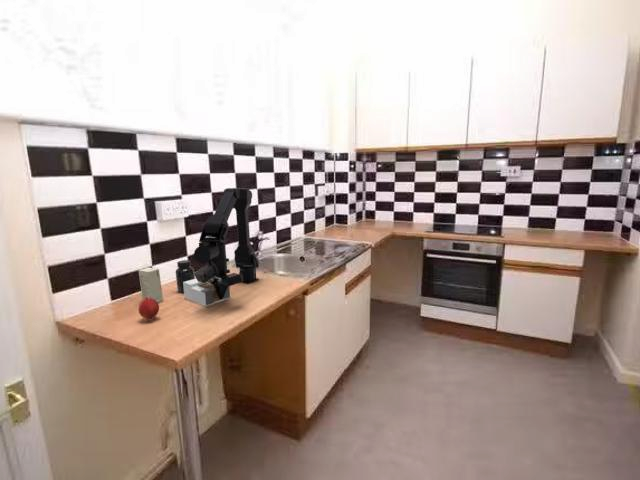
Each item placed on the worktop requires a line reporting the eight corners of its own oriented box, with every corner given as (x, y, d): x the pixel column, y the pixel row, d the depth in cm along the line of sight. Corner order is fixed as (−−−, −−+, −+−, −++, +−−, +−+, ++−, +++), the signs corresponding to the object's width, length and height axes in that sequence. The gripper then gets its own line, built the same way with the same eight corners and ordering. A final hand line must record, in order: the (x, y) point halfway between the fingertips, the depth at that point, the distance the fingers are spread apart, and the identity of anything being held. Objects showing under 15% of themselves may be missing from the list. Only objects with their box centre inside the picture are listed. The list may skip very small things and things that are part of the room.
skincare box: (163, 301, 123) (160, 269, 121) (152, 305, 119) (148, 272, 117) (152, 298, 126) (149, 266, 124) (141, 302, 123) (137, 269, 120)
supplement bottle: (190, 286, 139) (187, 258, 137) (199, 290, 135) (196, 260, 132) (174, 291, 134) (171, 261, 131) (183, 294, 129) (180, 264, 127)
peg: (206, 293, 129) (206, 283, 128) (222, 298, 123) (222, 288, 122) (197, 296, 126) (196, 285, 125) (213, 302, 120) (212, 291, 119)
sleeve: (208, 290, 134) (206, 275, 132) (230, 298, 125) (229, 282, 124) (184, 298, 126) (183, 282, 125) (206, 306, 117) (205, 289, 116)
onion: (137, 319, 108) (134, 295, 106) (156, 314, 111) (153, 291, 110) (143, 325, 103) (140, 300, 102) (162, 319, 107) (160, 295, 106)
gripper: (181, 257, 117) (186, 300, 119) (213, 265, 105) (217, 312, 108) (209, 251, 125) (213, 291, 128) (242, 258, 114) (245, 302, 117)
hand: (221, 299), depth 120 cm, fingers closed
